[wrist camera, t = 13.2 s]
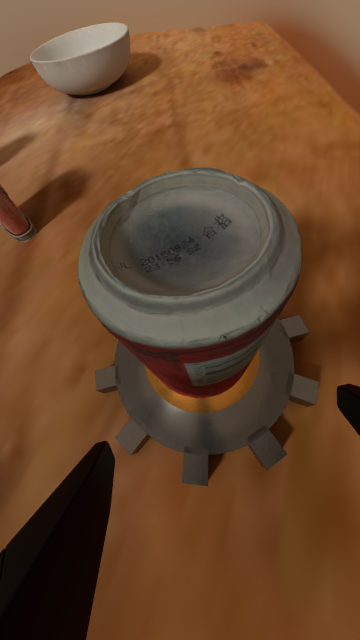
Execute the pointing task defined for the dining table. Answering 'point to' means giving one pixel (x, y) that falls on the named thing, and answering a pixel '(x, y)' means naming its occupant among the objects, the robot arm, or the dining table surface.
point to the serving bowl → (84, 58)
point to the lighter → (14, 219)
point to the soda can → (192, 274)
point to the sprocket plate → (213, 405)
